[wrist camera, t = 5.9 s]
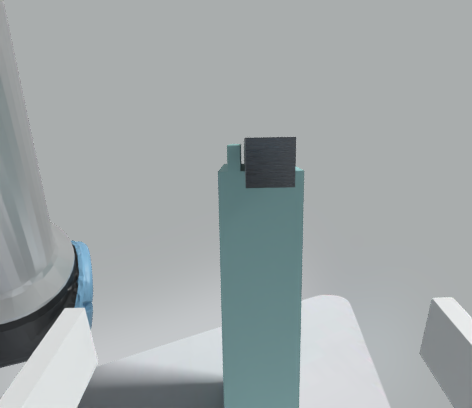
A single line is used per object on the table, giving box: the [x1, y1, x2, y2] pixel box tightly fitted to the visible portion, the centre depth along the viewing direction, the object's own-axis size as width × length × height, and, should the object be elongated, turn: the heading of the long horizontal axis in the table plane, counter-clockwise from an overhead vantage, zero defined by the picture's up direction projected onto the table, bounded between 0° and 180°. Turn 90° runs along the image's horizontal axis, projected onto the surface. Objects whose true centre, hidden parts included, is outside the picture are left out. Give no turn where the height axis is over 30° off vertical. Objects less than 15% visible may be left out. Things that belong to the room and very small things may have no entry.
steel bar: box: [244, 137, 296, 188], centre depth 33 cm, size 26×3×3 cm, turn 179°
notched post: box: [218, 144, 304, 408], centre depth 39 cm, size 10×8×32 cm
